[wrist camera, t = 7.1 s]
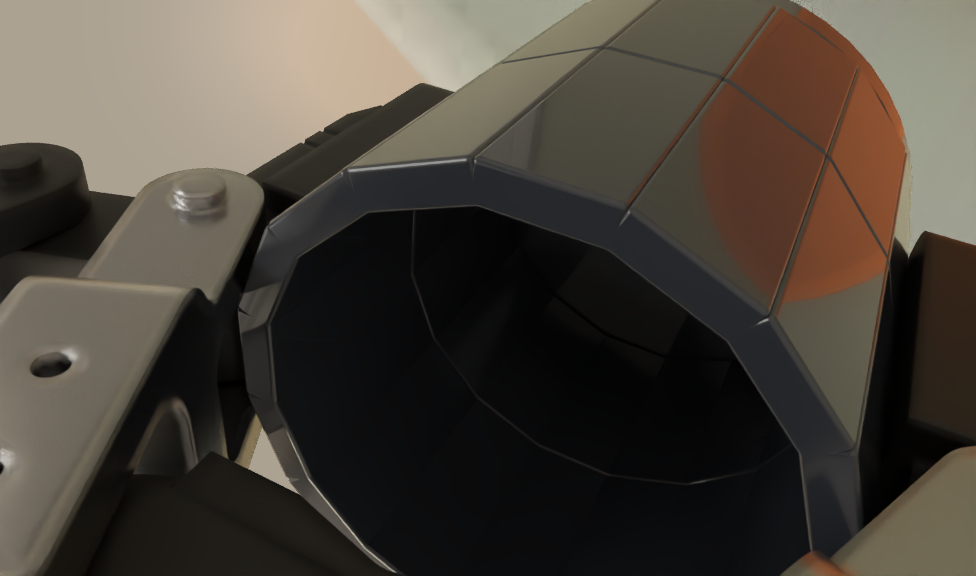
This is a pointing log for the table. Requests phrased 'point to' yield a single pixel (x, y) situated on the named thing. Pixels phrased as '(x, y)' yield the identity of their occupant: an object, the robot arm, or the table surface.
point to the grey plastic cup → (600, 305)
